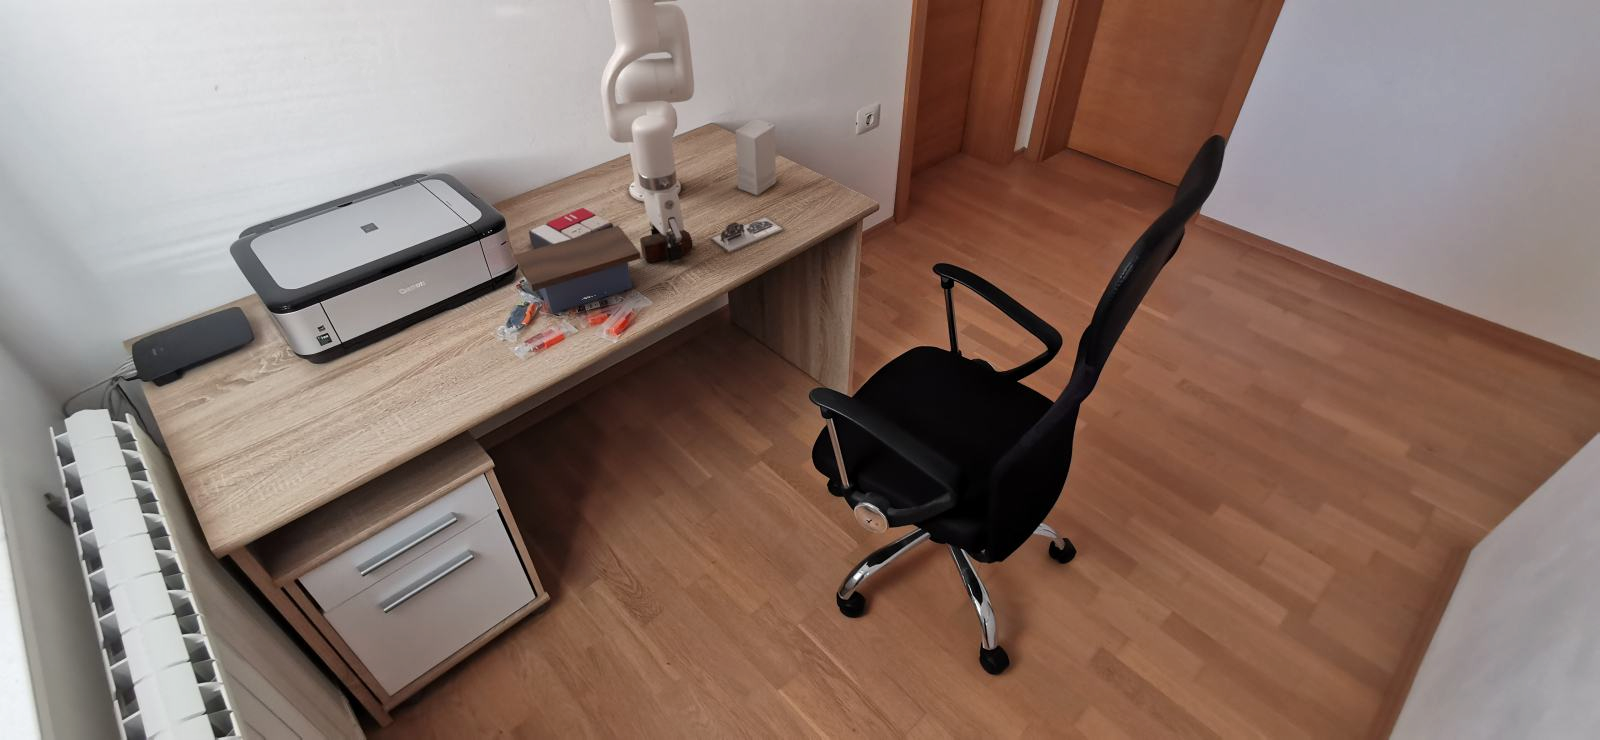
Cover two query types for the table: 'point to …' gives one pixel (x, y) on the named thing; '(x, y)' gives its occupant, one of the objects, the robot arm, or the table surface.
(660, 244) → the brick
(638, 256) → the board
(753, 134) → the cosmetic box
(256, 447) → the table surface
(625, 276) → the blue box
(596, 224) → the button pad
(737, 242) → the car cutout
